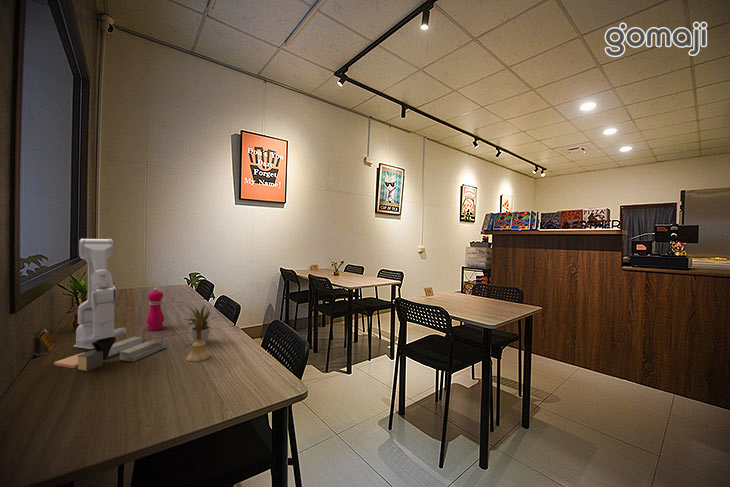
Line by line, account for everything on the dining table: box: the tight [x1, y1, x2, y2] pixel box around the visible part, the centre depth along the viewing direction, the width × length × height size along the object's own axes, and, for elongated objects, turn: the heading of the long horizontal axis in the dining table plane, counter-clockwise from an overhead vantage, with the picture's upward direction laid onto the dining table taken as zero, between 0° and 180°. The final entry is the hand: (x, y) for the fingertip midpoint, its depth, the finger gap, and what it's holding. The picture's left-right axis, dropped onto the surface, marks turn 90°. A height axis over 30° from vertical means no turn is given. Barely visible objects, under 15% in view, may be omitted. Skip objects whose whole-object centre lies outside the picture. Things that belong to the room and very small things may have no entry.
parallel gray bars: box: [108, 336, 167, 363], centre depth 117 cm, size 18×14×3 cm
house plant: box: [183, 304, 217, 344], centre depth 130 cm, size 14×14×16 cm
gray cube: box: [77, 349, 104, 372], centre depth 103 cm, size 4×5×5 cm
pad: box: [53, 352, 85, 369], centre depth 107 cm, size 9×9×1 cm
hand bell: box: [185, 314, 212, 363], centre depth 114 cm, size 8×8×16 cm
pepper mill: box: [145, 287, 165, 332], centre depth 145 cm, size 7×7×20 cm
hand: (103, 359), depth 107 cm, fingers closed
